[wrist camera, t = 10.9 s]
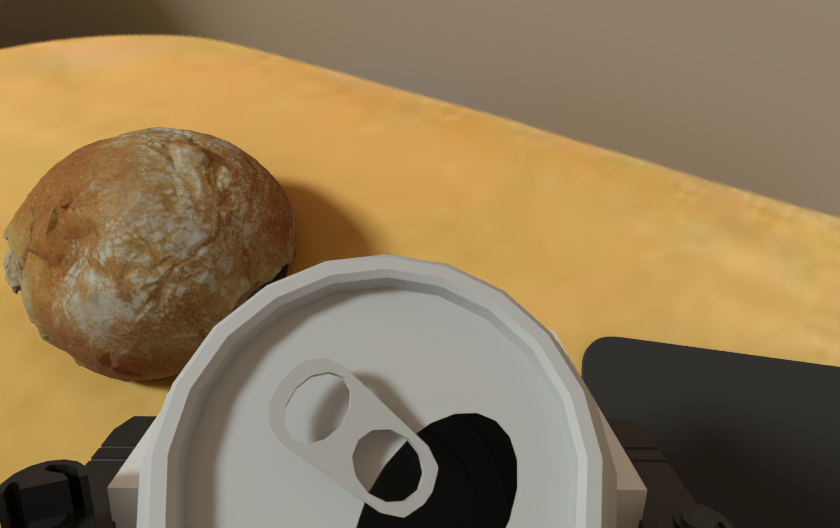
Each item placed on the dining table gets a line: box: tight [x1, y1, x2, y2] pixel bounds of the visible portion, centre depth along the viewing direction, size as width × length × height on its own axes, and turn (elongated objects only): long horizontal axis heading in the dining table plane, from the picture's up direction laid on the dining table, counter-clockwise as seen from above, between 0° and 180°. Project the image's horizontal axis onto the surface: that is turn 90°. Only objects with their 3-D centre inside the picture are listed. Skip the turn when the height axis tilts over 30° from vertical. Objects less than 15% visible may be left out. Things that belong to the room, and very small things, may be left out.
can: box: [136, 254, 617, 528], centre depth 13 cm, size 8×8×12 cm
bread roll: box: [3, 127, 296, 382], centre depth 23 cm, size 10×10×8 cm
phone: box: [582, 337, 840, 528], centre depth 22 cm, size 7×1×15 cm
